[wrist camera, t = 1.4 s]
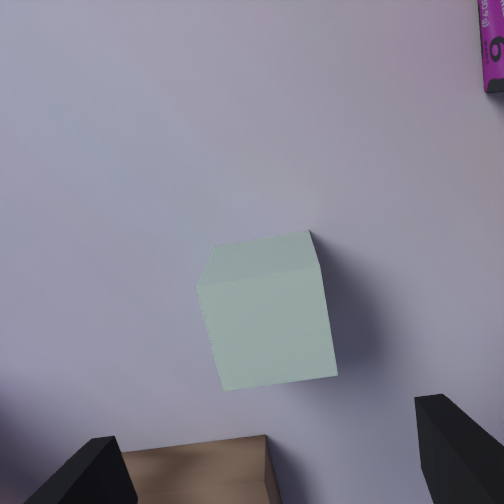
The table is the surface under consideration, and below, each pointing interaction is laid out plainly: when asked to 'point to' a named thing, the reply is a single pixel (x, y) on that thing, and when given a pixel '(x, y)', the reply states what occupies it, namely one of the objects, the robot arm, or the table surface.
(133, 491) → the robot arm
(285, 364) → the sage block
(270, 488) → the brown flat block
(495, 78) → the candy bar box
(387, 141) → the table surface
